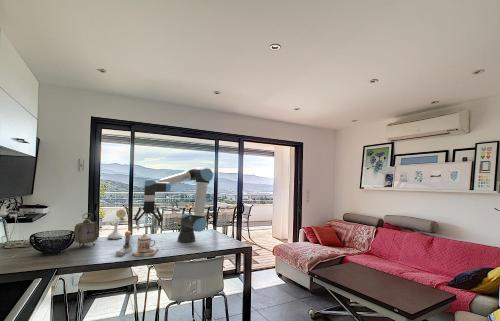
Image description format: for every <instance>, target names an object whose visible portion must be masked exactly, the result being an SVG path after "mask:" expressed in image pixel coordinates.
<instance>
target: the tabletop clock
mask: <svg viewBox="0 0 500 321" xmlns="http://www.w3.org/2000/svg"><path fill="white" fill-rule="evenodd" d="M86 215H91V216H89V217H88V216H86ZM85 216H86V217H85ZM92 217H93V213H91V212H86V213H83V214H82V218H83V219H84V220H83V221H82V222H78V223H77V224H75V226H74V229H73V234H74V233H75V238H74V237H73V240H74V242H76V243H78V244H79V245H78V246H77V249H81V246H82V247H85V245H86V244H89V243H92V245H93V246H95V245H96V243H94V242H96V241H97V240H98V238H99V234H100V226H99V224H98V223H97V222H93V221H91V218H92ZM81 244H82V245H81Z"/></svg>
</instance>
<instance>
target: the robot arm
mask: <svg viewBox="0 0 500 321" xmlns="http://www.w3.org/2000/svg"><path fill="white" fill-rule="evenodd" d="M213 178H214V173H213V171H212V170H211V168H209V167H205V166H203V167H201V166H195V167H192V168H190V169H188V170H187V169H186V170H185V171H184V172H181V173H178V174H174V175H169V176H168V177H164V178H161V179H157V180H156V179H152V178H151V179H150V178H149V179H145V180H144V184H143V185H144V187H143V188H144V191H143V192H144V193H143V207H142V206H139V207H138V210H137V212H136V214H135V215H134V218H132V220H133V221H135V226H136V231H140V225H141V220H140V219H141V218H143V216H144V215H145V214H147V215H148V214H149V215H150V214H151V215H153V217H154V218H155V219H156V220H157V221H156V231H159V230H160V226H161V221H163V220H164V218H163V216H162V212H161V211H160V207H159V206H157V207H155V205H156V203H155V202H156V201H155V200H156V193H168V192H170V191H171V189H172V186H174V185H178V184H180V183H184V182H190V181H195V183H196V192H195V198H194V204H193V211H192V213H185V214H182V215H181V216H180V230H179V234H178V237H177V242H179V243H185V244H186V243H193V242H195V241H196V234H195V232H197V233H198V232H200V233H201V232H203V231H204V230H205V229H206V227H207V225H208V222H207V219H206V215H205V206H206V197H207V189H208V185H209V184H210V182H211V181H212V180H213ZM142 210H143V212H142V213H141V211H142ZM155 211H156V212H155Z"/></svg>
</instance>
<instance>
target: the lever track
mask: <svg viewBox="0 0 500 321" xmlns="http://www.w3.org/2000/svg"><path fill="white" fill-rule="evenodd" d="M132 250H133V245H131V246H130V247H123V246H122V247H121V248H119V249H118V250H116V251H115V257H125V256H126V255H127V254H128V253H130V252H131V251H132ZM125 254H126V255H125Z"/></svg>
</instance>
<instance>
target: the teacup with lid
mask: <svg viewBox="0 0 500 321" xmlns="http://www.w3.org/2000/svg"><path fill="white" fill-rule="evenodd" d="M151 242H153V244H152V245H151ZM155 244H156V241H155V240H154V239H152V237H151V236H149V235H147V233H143V235H141V236H139V237H137V247H136V250H137V251H138V252H148V251H150V248H153V247H154V246H155Z"/></svg>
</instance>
